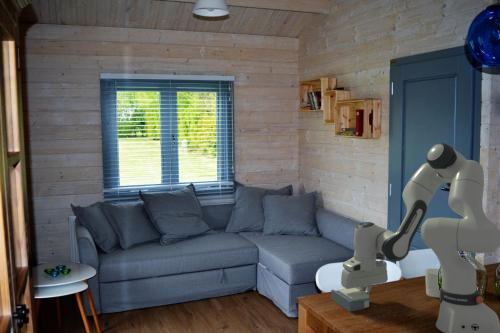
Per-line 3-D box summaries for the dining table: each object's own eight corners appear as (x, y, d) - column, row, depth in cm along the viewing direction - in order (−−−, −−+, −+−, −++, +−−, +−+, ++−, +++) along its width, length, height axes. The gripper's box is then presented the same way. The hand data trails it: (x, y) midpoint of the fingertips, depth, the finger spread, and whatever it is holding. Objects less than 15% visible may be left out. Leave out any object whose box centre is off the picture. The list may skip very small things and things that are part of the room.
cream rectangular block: (354, 298, 203) (354, 287, 203) (369, 307, 194) (369, 295, 193) (337, 301, 201) (337, 289, 200) (351, 310, 191) (351, 298, 191)
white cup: (422, 291, 209) (422, 268, 208) (441, 291, 209) (441, 268, 208) (428, 298, 202) (428, 274, 200) (447, 298, 201) (448, 274, 200)
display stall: (344, 296, 205) (344, 287, 205) (364, 309, 192) (364, 299, 192) (331, 299, 203) (331, 289, 202) (349, 311, 190) (349, 301, 189)
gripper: (381, 257, 205) (381, 289, 207) (339, 263, 198) (339, 296, 199) (391, 261, 199) (390, 294, 201) (347, 268, 192) (347, 302, 193)
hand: (364, 295), depth 200 cm, fingers closed
